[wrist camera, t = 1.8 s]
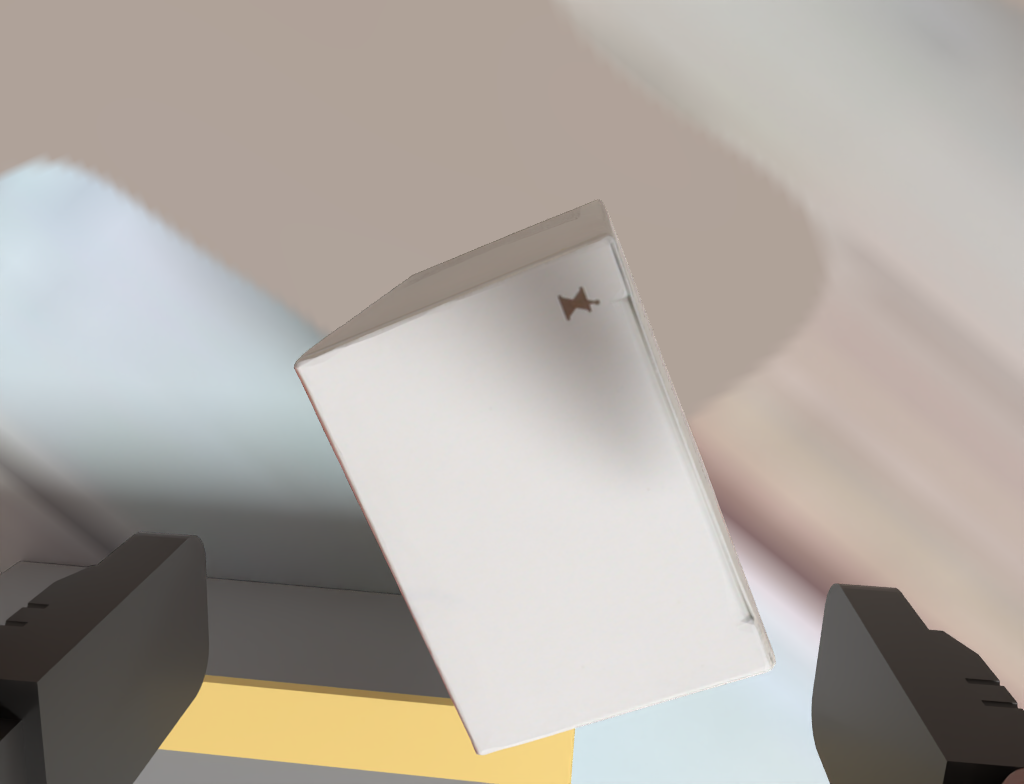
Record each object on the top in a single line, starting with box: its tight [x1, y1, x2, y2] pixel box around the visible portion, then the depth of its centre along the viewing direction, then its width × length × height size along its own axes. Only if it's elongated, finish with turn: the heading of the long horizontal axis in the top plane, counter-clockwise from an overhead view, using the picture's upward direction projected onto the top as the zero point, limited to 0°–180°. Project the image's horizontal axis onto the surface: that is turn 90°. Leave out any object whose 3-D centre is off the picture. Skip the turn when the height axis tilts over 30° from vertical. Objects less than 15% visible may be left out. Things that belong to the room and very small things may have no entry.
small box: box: [294, 200, 776, 755], centre depth 20 cm, size 8×6×10 cm
